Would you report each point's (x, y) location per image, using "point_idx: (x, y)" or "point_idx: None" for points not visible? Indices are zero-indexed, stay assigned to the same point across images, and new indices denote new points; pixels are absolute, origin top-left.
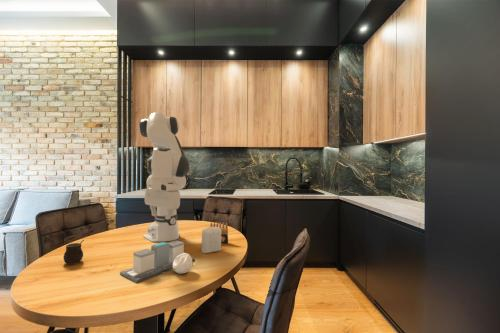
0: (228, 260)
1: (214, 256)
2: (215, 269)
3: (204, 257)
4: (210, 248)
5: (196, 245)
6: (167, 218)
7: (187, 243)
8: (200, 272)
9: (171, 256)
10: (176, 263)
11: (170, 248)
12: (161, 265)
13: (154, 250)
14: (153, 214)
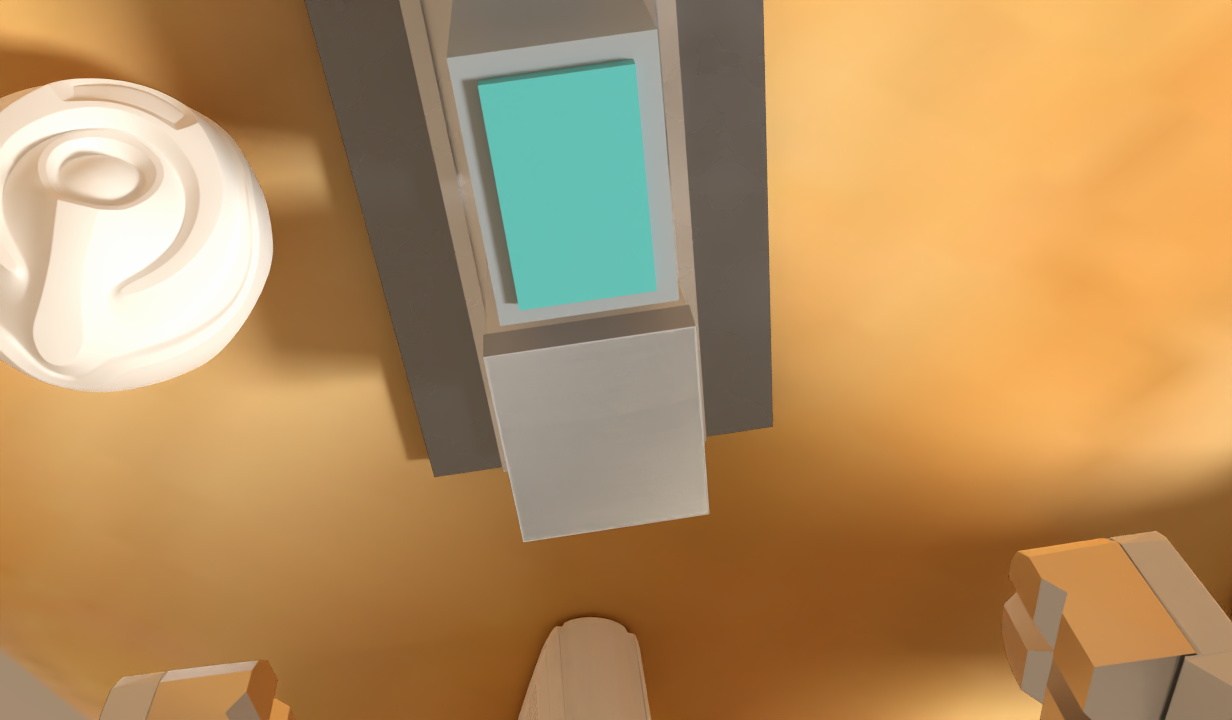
0: None
1: (405, 650)
2: (20, 492)
3: (454, 573)
4: (531, 712)
5: (864, 675)
6: (114, 703)
7: None
8: None
9: None
10: (61, 143)
11: None
12: (421, 29)
13: (532, 22)
14: (1055, 585)
